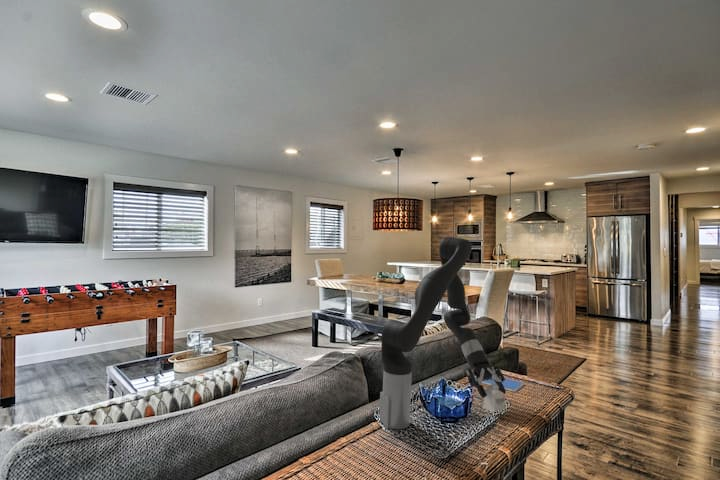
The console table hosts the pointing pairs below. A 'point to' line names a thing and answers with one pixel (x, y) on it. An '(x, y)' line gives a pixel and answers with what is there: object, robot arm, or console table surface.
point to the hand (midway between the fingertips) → (494, 395)
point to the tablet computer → (506, 384)
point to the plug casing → (494, 399)
